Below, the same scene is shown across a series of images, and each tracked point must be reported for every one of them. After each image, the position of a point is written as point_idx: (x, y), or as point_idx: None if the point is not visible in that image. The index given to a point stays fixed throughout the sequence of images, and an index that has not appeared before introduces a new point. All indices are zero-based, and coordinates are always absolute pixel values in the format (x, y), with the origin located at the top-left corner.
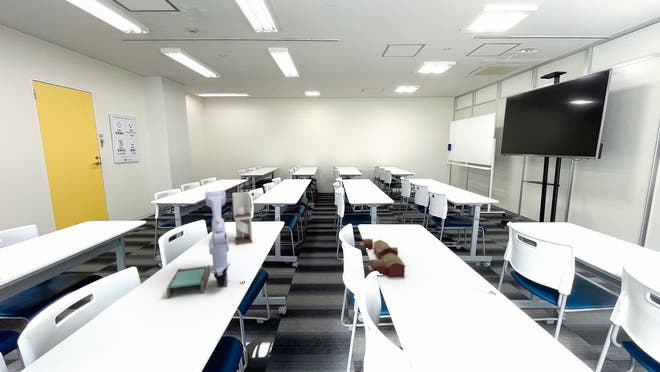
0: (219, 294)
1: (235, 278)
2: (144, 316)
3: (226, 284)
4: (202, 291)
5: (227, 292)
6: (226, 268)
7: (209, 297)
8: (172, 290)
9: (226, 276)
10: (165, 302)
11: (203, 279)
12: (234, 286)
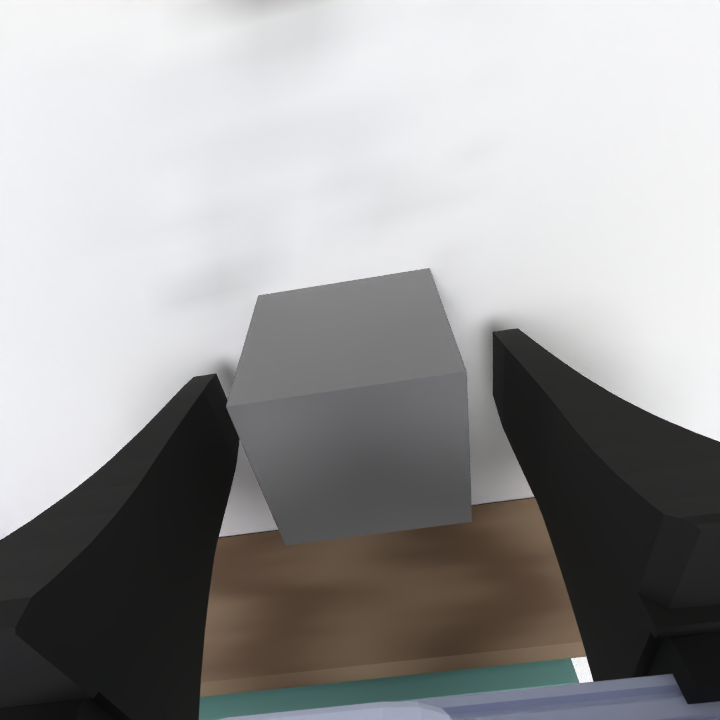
0: (655, 322)
1: (90, 181)
2: None
3: (436, 297)
4: (545, 529)
5: (652, 207)
6: (116, 537)
7: (672, 420)
8: None
9: (364, 394)
10: (575, 662)
11: (458, 660)
12: (452, 115)
